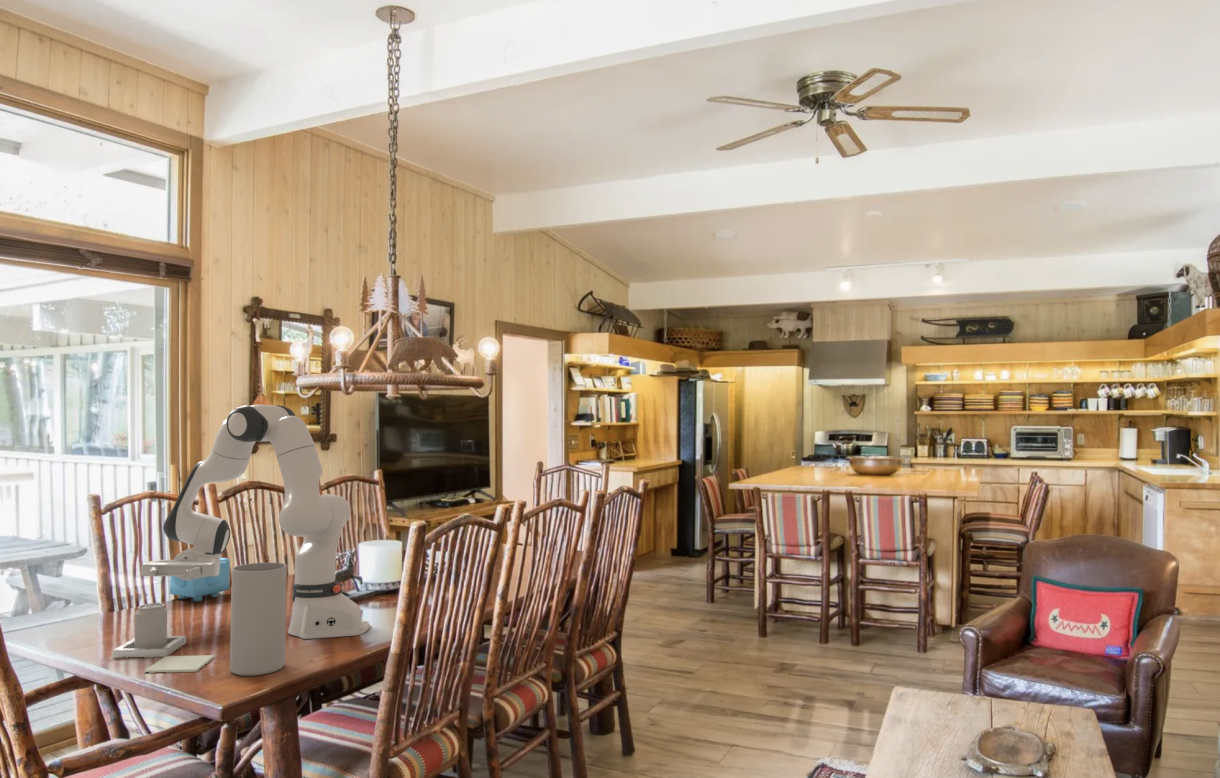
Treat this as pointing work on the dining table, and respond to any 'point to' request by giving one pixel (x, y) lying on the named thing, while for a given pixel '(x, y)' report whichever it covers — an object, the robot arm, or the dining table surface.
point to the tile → (180, 663)
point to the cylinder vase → (258, 618)
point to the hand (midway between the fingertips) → (170, 573)
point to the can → (151, 626)
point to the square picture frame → (130, 651)
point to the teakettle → (202, 584)
